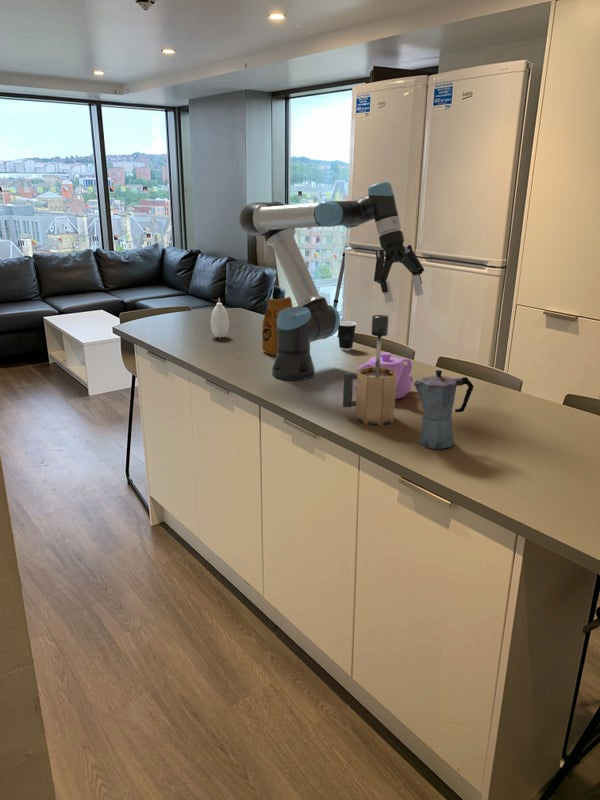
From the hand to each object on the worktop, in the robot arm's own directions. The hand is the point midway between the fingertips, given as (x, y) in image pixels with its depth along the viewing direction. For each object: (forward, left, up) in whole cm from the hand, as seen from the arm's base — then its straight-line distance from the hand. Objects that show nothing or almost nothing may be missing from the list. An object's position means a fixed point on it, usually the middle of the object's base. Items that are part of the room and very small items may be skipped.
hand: (405, 298), depth 194 cm
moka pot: (+13, -45, -30) cm, 56 cm away
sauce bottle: (-82, +52, -30) cm, 101 cm away
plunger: (-5, -31, -18) cm, 36 cm away
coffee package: (-51, +35, -30) cm, 68 cm away
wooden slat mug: (-7, -31, -30) cm, 44 cm away
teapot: (-3, -10, -30) cm, 32 cm away
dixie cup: (-25, +46, -30) cm, 60 cm away
